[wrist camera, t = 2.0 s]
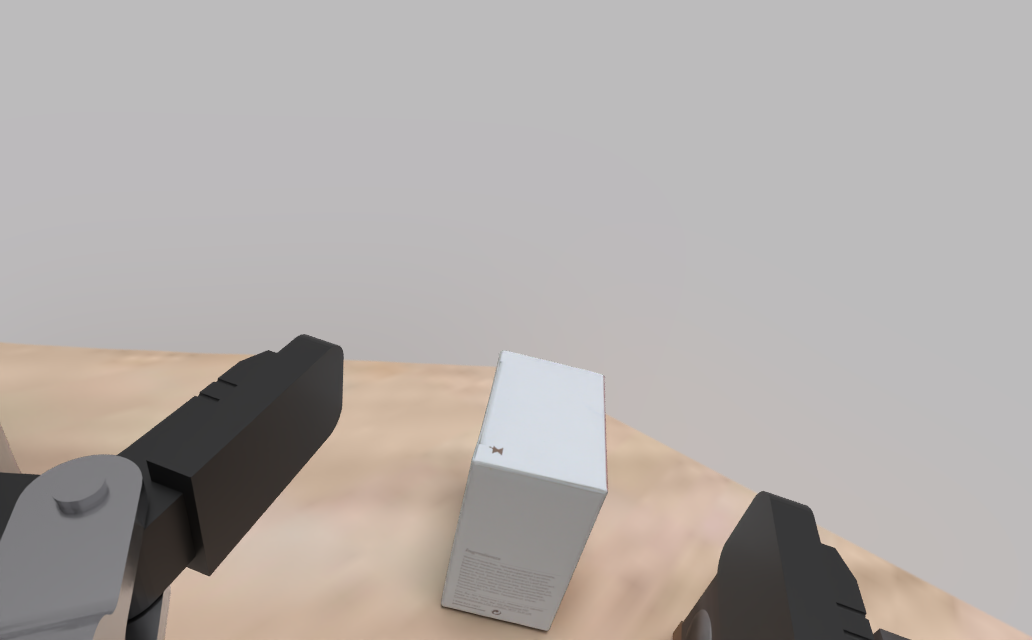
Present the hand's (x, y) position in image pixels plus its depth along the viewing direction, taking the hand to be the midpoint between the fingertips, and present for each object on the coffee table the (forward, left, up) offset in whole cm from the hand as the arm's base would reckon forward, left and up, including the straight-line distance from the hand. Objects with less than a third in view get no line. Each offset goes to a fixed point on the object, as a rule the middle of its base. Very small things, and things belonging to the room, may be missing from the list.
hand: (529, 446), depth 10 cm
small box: (0, +11, -19) cm, 22 cm away
